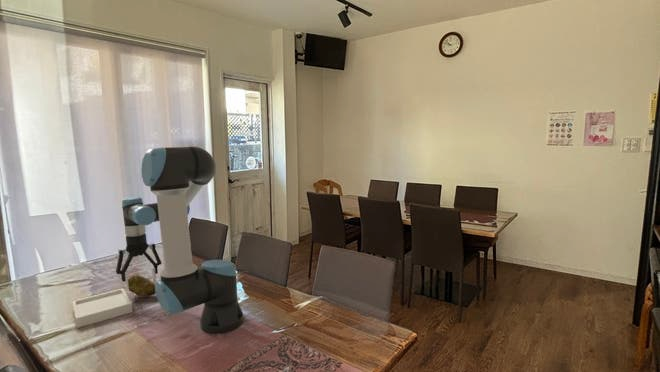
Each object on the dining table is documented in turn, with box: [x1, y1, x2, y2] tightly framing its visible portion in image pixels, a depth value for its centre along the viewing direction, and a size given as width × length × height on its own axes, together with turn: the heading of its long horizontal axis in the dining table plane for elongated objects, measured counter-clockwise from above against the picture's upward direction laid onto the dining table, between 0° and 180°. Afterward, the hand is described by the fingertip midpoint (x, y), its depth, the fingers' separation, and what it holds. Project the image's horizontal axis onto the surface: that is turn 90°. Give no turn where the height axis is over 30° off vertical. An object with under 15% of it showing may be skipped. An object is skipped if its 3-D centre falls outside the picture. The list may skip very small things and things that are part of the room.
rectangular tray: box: [71, 287, 133, 329], centre depth 143 cm, size 18×18×4 cm
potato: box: [128, 274, 156, 298], centre depth 154 cm, size 8×13×8 cm, turn 63°
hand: (141, 284), depth 154 cm, fingers closed on potato, 10 cm apart
